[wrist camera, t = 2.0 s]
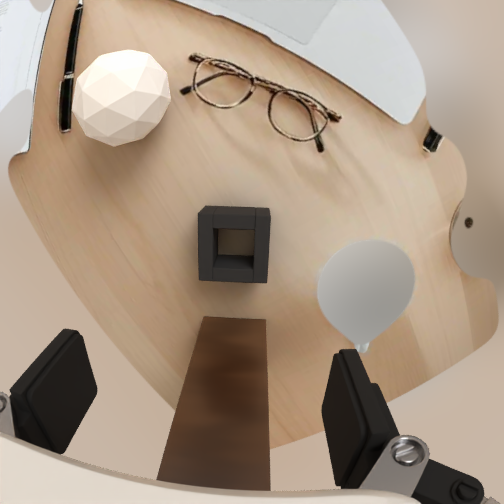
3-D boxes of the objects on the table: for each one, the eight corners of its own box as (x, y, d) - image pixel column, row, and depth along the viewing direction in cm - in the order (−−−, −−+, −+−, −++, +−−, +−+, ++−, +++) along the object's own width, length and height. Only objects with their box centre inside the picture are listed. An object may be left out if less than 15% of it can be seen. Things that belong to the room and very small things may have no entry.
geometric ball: (168, 96, 27) (207, 88, 21) (111, 161, 26) (133, 171, 20) (114, 44, 22) (140, 16, 16) (51, 110, 21) (52, 101, 15)
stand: (276, 310, 30) (301, 646, 4) (271, 374, 33) (278, 641, 6) (193, 306, 30) (89, 617, 4) (197, 370, 33) (138, 627, 6)
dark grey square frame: (269, 207, 27) (270, 215, 24) (266, 268, 29) (267, 283, 26) (205, 205, 27) (197, 213, 24) (205, 265, 29) (198, 280, 26)
